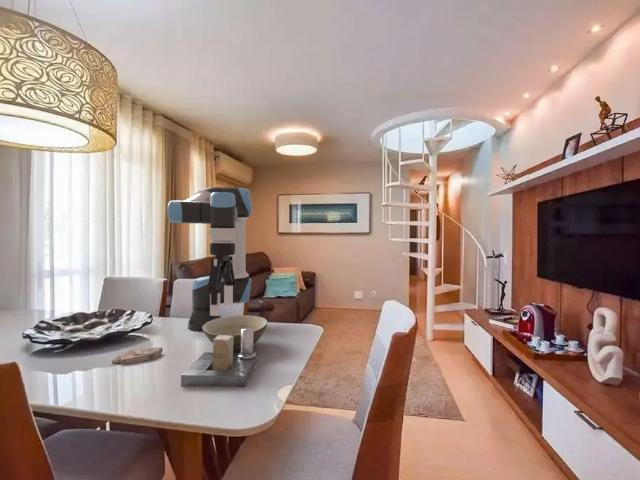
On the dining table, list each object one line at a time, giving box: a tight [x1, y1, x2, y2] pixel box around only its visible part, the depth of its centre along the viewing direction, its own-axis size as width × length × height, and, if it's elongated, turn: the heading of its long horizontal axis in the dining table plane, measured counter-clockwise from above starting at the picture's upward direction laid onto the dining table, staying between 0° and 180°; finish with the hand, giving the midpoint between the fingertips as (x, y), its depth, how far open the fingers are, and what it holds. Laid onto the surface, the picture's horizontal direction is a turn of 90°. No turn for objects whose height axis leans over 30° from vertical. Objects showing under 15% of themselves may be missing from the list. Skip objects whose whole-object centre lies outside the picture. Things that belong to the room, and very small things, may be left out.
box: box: [212, 335, 234, 371], centre depth 100 cm, size 5×4×11 cm
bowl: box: [202, 314, 268, 353], centre depth 122 cm, size 24×24×10 cm
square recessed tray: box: [180, 351, 259, 388], centre depth 100 cm, size 18×18×3 cm
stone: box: [111, 346, 163, 365], centre depth 111 cm, size 12×12×3 cm
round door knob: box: [237, 327, 257, 360], centre depth 106 cm, size 6×6×12 cm
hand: (222, 310), depth 101 cm, fingers open, 13 cm apart
